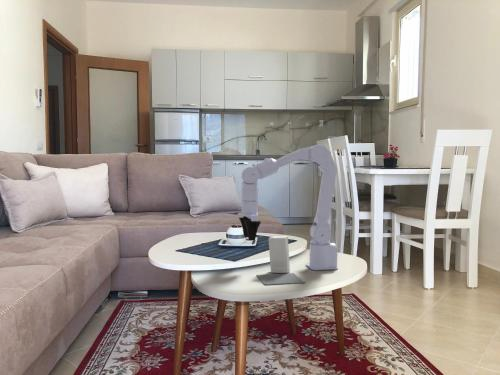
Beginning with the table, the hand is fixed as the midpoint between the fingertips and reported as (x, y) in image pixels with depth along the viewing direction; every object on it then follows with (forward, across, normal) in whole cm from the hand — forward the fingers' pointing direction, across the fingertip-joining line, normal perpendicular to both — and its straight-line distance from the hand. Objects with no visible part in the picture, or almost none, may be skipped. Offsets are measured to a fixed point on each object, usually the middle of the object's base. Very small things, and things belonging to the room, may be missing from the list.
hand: (249, 238), depth 150 cm
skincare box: (+10, +10, +9) cm, 17 cm away
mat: (+10, +18, +6) cm, 22 cm away
